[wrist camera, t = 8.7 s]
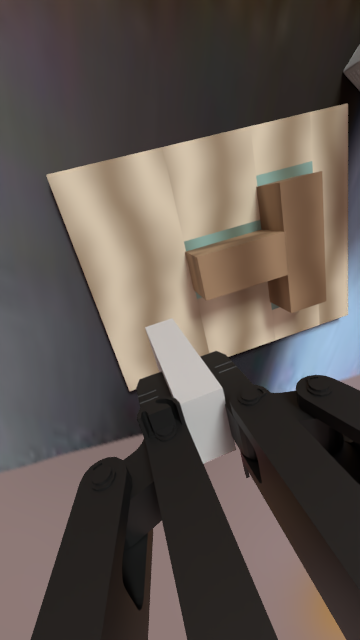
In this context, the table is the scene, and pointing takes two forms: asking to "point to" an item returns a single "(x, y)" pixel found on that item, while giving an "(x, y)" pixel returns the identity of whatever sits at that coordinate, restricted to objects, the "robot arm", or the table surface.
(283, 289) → the t block
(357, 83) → the skincare box
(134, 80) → the table surface
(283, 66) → the table surface
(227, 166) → the board
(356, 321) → the table surface
